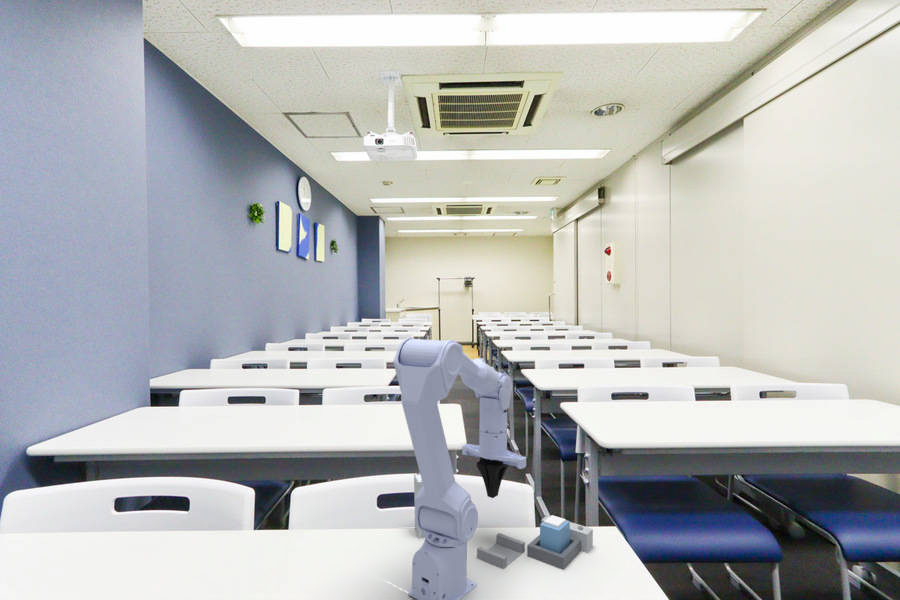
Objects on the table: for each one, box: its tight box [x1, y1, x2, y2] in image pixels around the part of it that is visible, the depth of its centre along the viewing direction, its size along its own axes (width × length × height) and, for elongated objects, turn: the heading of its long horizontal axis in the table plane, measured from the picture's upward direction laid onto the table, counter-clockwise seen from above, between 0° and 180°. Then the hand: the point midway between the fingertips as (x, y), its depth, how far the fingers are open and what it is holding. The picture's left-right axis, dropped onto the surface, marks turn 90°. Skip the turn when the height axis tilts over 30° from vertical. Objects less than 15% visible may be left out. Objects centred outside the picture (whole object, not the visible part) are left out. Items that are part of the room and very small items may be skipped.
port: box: [526, 514, 594, 571], centre depth 92 cm, size 12×10×4 cm
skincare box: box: [413, 472, 425, 539], centre depth 99 cm, size 6×4×12 cm
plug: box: [539, 514, 571, 554], centre depth 91 cm, size 5×4×6 cm
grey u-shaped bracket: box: [476, 532, 526, 570], centre depth 90 cm, size 8×6×2 cm
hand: (492, 495), depth 95 cm, fingers closed
